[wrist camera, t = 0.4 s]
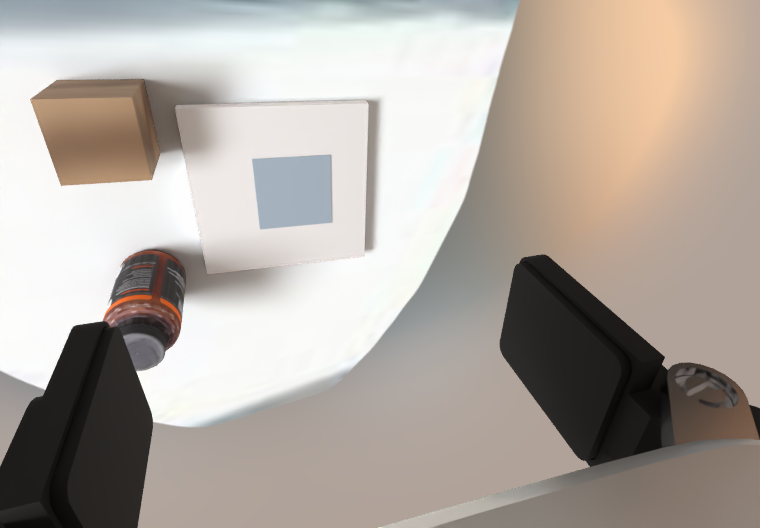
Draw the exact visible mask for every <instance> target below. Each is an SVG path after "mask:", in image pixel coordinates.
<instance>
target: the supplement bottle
mask: <svg viewBox="0 0 760 528" xmlns="http://www.w3.org/2000/svg"><path fill="white" fill-rule="evenodd" d="M185 280H186V279H185V271H184V268H183V267H182V265H181V264H180V263H179V261H178V260H177V259H175V258H174V257H172V256H171V255H169V254H166V253H164V252H160V251H152V250H148V251H141V252H138V253H135V254H133V255H131V256H129V257H128V258H127V259H126V260H125V261H124V262H123V263H122V265H121V267H120V269H119V271H118V274H117V278H116V281H115V284H114V287H113V290H112V293H111V297H110V300H109V303H108V306H107V309H106V312H105V316H104V319H103V321H106V322H107V323H108V324H109V325H110V327H115V326H117V327H119V328H120V330H121V332H122V335H123V338H124V340H125V343H126V346H127V349H128V351H129V354H130V357H131V359H132V362H133V365H134V367H135V370H136V371H142V370H147V369H150V368H152V367H154V366H156V365H158V364H159V363H160V362H161V361H162V360H163V358H164V356H165V351H166V350H168V349H169V348H170V347H172V346H173V345H174V343H175V342H176V340H177V339H178V337H179V334H180V329H181V322H182V312H183V302H184V292H185V282H186V281H185Z"/></svg>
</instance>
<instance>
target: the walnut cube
mask: <svg viewBox="0 0 760 528" xmlns="http://www.w3.org/2000/svg"><path fill="white" fill-rule="evenodd" d="M30 100H31V103H32V106H33V108H34V111H35V114H36V117H37V120H38V122H39V125H40V128H41V131H42V134H43V136H44V139H45V142H46V145H47V148H48V150H49V153H50V156H51V159H52V162H53V164H54V167H55V170H56V173H57V176H58V178H59V181H60V184H61V186H63V185H79V184H95V183H110V182H126V181H142V180H152V178H153V174H154V171H155V168H156V165H157V162H158V159H159V156H160V150H159V145H158V141H157V136H156V132H155V127H154V123H153V119H152V114H151V110H150V105H149V101H148V96H147V92H146V87H145V83H144V79H120V80H56V81H55V82H54V83H52V84H51V85H49V86H48V87H47V88H45V89H44V90H43V91H41V92H40V93H38V94H37V95H36V96H34V97H33V98H31V99H30Z"/></svg>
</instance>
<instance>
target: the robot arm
mask: <svg viewBox="0 0 760 528" xmlns="http://www.w3.org/2000/svg"><path fill="white" fill-rule="evenodd" d="M500 350H501V352H502V355H503V357H504V358H505V359H506V361H507V362H508V363H509V365H510V366H511V367H512V369H513V370H514V372H515V373H516V374H517V376H518V377H519V378H520V380H521V381H522V382H523V384H524V385H525V387H526V388H527V389H528V391H529V392H530V393H531V395H532V396H533V397H534V399H535V400H536V401H537V403H538V404H539V405H540V407H541V408H542V410H543V411H544V412H545V414H546V415H547V416H548V418H549V419H550V420H551V422H552V423H553V425H554V426H555V427H556V429H557V430H558V431H559V433H560V434H561V435H562V437H563V438H564V439H565V441H566V442H567V444H568V445H569V446H570V448H571V449H572V450H573V452H574V453H575V454H576V456H577V457H578V458H580V459H581V460H585V461H586V462H587V463H588V465H589V466H590V467H589V468H586V469H582V470H578V471H575V472H571V473H568V474H564V475H561V476H557V477H553V478H550V479H546V480H543V481H539V482H536V483H533V484H529V485H525V486H522V487H518V488H514V489H511V490H507V491H504V492H501V493H497V494H493V495H490V496H486V497H483V498H479V499H476V500H472V501H469V502H465V503H462V504H459V505H455V506H452V507H448V508H445V509H441V510H438V511H434V512H431V513H427V514H424V515H420V516H417V517H413V518H410V519H407V520H403V521H400V522H396V523H393V524H389V525H386V526H382V527H379V528H760V408H757V407H755V406H751V405H749V403H748V400H747V397H746V395H745V393H744V392H743V390H742V389H741V388H740V387H739V386H738V384H736V382H734V381H733V380H732V379H730V378H729V377H728V376H726V375H725V374H723V373H721V372H719V371H717V370H715V369H713V368H710V367H707V366H704V365H701V364H695V363H678V364H675V365H672V366H671V367H670V369H668V370H667V369H666V368H665V367H664V366H663V365H662V362H663V360H664V358H665V357H664V356H663V355H662V354H661V353H660V352H658V351H657V350H656V349H655V348H654V347H653V346H651V345H650V344H649V343H648V342H647V341H646V340H644V339H643V338H642V337H641V336H640V335H639V334H638V333H636V332H635V331H634V330H633V329H632V328H631V327H629V326H628V325H627V324H626V323H625V322H624V321H623V320H621V319H620V318H619V317H618V316H617V315H616V314H614V313H613V312H612V311H611V310H610V309H609V308H607V307H606V306H605V305H604V304H603V303H602V302H601V301H599V300H598V299H597V298H596V297H595V296H593V295H592V294H591V293H590V292H589V291H588V290H587V289H585V288H584V287H583V286H582V285H581V284H580V283H578V282H577V281H576V280H575V279H574V278H573V277H571V276H570V275H569V274H568V273H567V272H566V271H565V270H564V269H562V268H561V267H560V266H559V265H558V264H557V263H555V262H554V261H553V260H552V259H551V258H549V257H548V256H547V255H536V256H530V257H524V258H522V259H521V261H520V263H519V264H517V265H516V266H515V269H514V273H513V278H512V283H511V288H510V293H509V298H508V303H507V309H506V313H505V318H504V323H503V329H502V334H501V339H500ZM152 429H153V419H152V413H151V410H150V408H149V405H148V402H147V400H146V397H145V394H144V391H143V389H142V386H141V383H140V381H139V378H138V375H137V373H136V370H135V367H134V365H133V362H132V359H131V357H130V354H129V351H128V349H127V346H126V343H125V340H124V338H123V335H122V332H121V330H120V328H119V327H117V326H115V327H110V325H109V324H108V323H107V322H106V321H102V322H95V323H89V324H82V325H76V326H74V327H73V328H72V330H71V332H70V334H69V337H68V339H67V341H66V344H65V346H64V348H63V351H62V353H61V355H60V358H59V360H58V362H57V365H56V367H55V369H54V372H53V374H52V376H51V379H50V381H49V383H48V386H47V388H46V390H45V393H44V395H43V396H41V397H36V398H35V399H33V400H32V401H31V402H30V404H29V405H28V407H27V409H26V411H25V413H24V416H23V418H22V420H21V422H20V425H19V427H18V429H17V431H16V433H15V436H14V438H13V440H12V442H11V444H10V447H9V449H8V451H7V453H6V455H5V458H4V460H3V462H2V464H1V466H0V528H137V527H138V520H139V514H140V507H141V501H142V494H143V488H144V481H145V475H146V468H147V462H148V455H149V449H150V442H151V436H152Z"/></svg>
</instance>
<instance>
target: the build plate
mask: <svg viewBox="0 0 760 528" xmlns="http://www.w3.org/2000/svg"><path fill="white" fill-rule="evenodd" d="M368 108H369V103H368V102H367V101H366V100H346V101H307V102H268V103H229V104H190V105H176V107H175V112H176V117H177V122H178V127H179V133H180V138H181V143H182V148H183V153H184V158H185V163H186V168H187V174H188V179H189V184H190V189H191V194H192V199H193V204H194V209H195V215H196V220H197V225H198V230H199V235H200V240H201V245H202V250H203V256H204V261H205V266H206V271H207V275H208V274H217V273H225V272H234V271H243V270H251V269H260V268H269V267H278V266H286V265H295V264H304V263H312V262H321V261H330V260H339V259H347V258H356V257H364V252H365V216H366V180H367V144H368Z"/></svg>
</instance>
